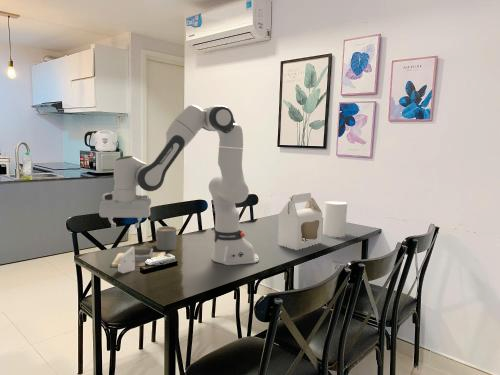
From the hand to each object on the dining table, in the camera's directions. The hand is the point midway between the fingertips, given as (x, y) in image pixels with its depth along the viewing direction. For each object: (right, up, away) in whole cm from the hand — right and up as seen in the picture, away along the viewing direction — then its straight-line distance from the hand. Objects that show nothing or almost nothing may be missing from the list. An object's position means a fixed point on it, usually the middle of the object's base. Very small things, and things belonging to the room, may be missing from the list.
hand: (125, 227), depth 158 cm
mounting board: (+2, -17, +16) cm, 23 cm away
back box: (+2, -16, +16) cm, 22 cm away
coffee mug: (+8, -14, +38) cm, 41 cm away
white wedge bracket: (0, -19, +3) cm, 19 cm away
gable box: (+80, -15, +50) cm, 95 cm away
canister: (+104, -12, +73) cm, 127 cm away
